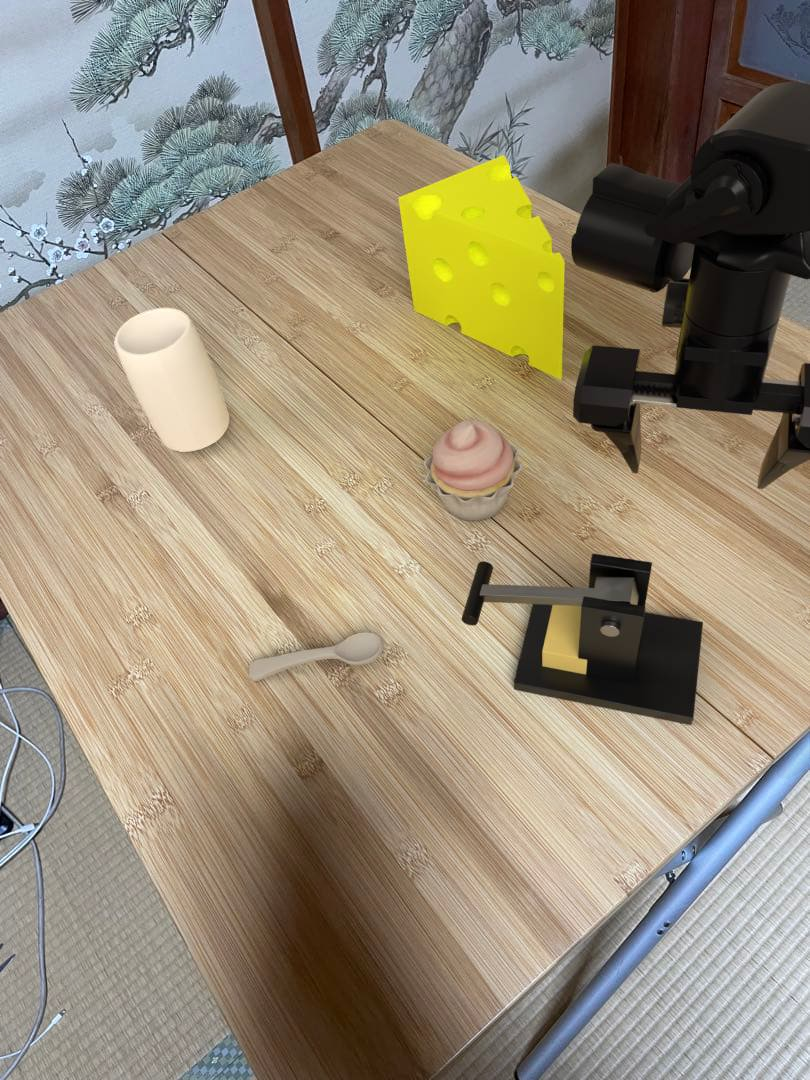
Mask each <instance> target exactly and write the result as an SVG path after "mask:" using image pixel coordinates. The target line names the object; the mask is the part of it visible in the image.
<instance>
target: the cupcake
mask: <svg viewBox="0 0 810 1080" xmlns="http://www.w3.org/2000/svg"><path fill="white" fill-rule="evenodd" d="M431 450H432V454H431V455H430V456H428V457H427V458H426V459H424V460H423V466H424V467H425V469H426V470H427V471H428V472H427V474H426V476H425V478H424V482H425V483H426V484H428V485H429V486H430V487H431V488H432V489H433V490H434V491H436V493H437V495H438V497H439V498H440V500H441V502H442V504H443V506H444V508H445V509H446V510H447V512H449V513H450V514H451V515H453V516H454V517H456V518H458V519H460V520H462V521H466V522H468V521H469V522H480V521H484V520H487V519H491V518H492V517H494V516H496V515H497V514H498V513H499V512H500V511H501V510H502V509H503V508H504V507H505V506H506V504H507V502H508V498H509V495H510V491H511V489H512V488H513V487H514V485H515V479H516V478H517V477H518V475H519V473H520V472H521V471H522V470H523V468H524V466H523V464H522V463H521V462H520V461H519V459H517V458H518V455H519V451H520V448H519V447H517V446H514V445H511V444H510V442H509V441H508V439H507V438H506V437H505V436H504V435H503V434H502V433H501V432H500V431H498V430H496V428H495V427H493V426H492V425H491V424H489V423H487V422H485V421H482V420H478V419H464V420H461V421H460V422H458V423H457V424H455V425H453V426H451V427H450V428H449V429H448V430H447V431H445V432H444V433H443V434H442V435H441V436H440V437H439V438H438V440H437V441H436V442H435V444H434V446H433V448H432V449H431Z"/></svg>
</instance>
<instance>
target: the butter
mask: <svg viewBox="0 0 810 1080" xmlns="http://www.w3.org/2000/svg"><path fill="white" fill-rule="evenodd" d="M580 620H581V606H566V605H553V606H552V611H551V615H550V619H549V624H548V628H547V633H546V637H545V641H544V646H543V650H542V666H544V667H549V668H554V669H560V670H565V671H570V672H575V673H581V674H586V668H587V660H584V659H579V658H578V651H579V636H580Z"/></svg>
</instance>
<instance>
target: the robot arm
mask: <svg viewBox="0 0 810 1080" xmlns="http://www.w3.org/2000/svg"><path fill="white" fill-rule="evenodd" d="M570 243H571V245H570V251H571V253H570V254H571V259H572V261H573V263H574V265H575V266H576V267H577V268H580V269H583V270H586V271H588V272H592V273H595V274H597V275H600V276H603V277H606V278H609V279H613V280H615V281H618V282H621V283H624V284H627V285H630V286H633V287H636V288H639V289H642V290H645V291H648V292H650V293H655V294H656V293H658V292H661V291H662V290H664V288H666V291H665V298H664V305H663V311H662V318H661V327H663V328H674V329H676V328H677V329H680V330H679V337H678V343H677V349H676V350H677V351H676V355H675V368H674V373H664V372H654V371H642V370H638V368H639V365H640V358H641V357H640V356H641V348H629V347H617V346H608V345H607V346H606V345H594V344H593V345H591V346H590V347H589V348H588V349H587V350H585V352H584V353H583V356H582V360H581V363H580V368H579V372H578V376H577V379H576V383H575V387H574V395H573V405H572V417H573V418H574V419H575V420H576V421H577V422H578V423H580V424H587V425H590V427H591V429H592V430H593V431H595V432H599V433H603V434H605V436H606V437H607V438H608V439H609V441H611V442H612V444H613V445H614V446H615V448H616V449H617V450H618V451H619V452H620V454H621V455H622V457H623V459H624V461H625V462H626V464H627V466H628V468H629V469H630V471H631V473H632V474H637V475H638V474H639V469H640V463H641V455H642V421H641V405H648V406H658V407H668V408H677V409H685V410H695V411H696V410H697V411H707V412H715V413H716V412H717V413H725V414H736V415H747V416H752V415H753V412H754V411H758V412H759V411H760V412H771V413H779V414H782V416H781V418H780V421H779V424H778V425H777V428H776V430H775V433H774V435H773V438H772V439H771V442H770V444H769V446H768V449H767V451H766V453H765V456H764V458H763V460H762V463H761V466H760V469H759V473H758V476H757V485H756V486H757V489H758V490H764V489H765V488H767V487H769V485H771V484H772V483H774V482H775V481H777V480H778V479H779V478H780V477H782V476H783V475H785V474H787V473H788V472H789V471H791V470H792V469H795V468H797V467H799V466H800V465H802V464H804V463H806V462H808V461H810V363H809V362H804V363H803V364H801V366H800V369H799V373H798V375H797V380H788V379H787V380H786V379H777V378H776V379H775V378H765V375H766V371H767V367H768V363H769V359H770V356H771V351H772V348H773V345H774V340H775V337H776V333H777V330H778V325H779V322H780V318H781V314H782V309H783V306H784V302H785V298H786V294H787V291H788V287H789V283H790V280H791V277H792V276H793V277H796V278H800V279H803V280H810V83H806V82H800V81H786V82H785V81H784V82H778V83H774V84H772V85H770V86H768V87H765V88H764V89H763V90H761V91H760V92H758V93H757V94H755V96H754V97H752V99H750V100H749V101H748V102H747V103H746V104H745V105H743V106H742V107H741V108H740V109H739V110H738V111H737V112H736V113H735V114H734V115H732V116H731V118H730V119H728V120H727V121H726V122H725V123H724V124H723V125H722V126H721V127H720V128H719V129H717V130H716V131H715V132H714V133H712V135H710V137H709V138H707V140H706V141H705V142H703V144H702V145H700V147H699V149H698V150H697V152H696V154H695V157H694V158H693V161H692V165H691V172H690V175H689V176H688V177H687V178H686V179H685V180H684V181H683V182H682V183H679V182H675V181H671V180H667V179H663V178H660V177H657V176H652V175H649V174H645V173H641V172H638V171H636V170H634V169H632V168H631V167H628V166H626V165H622V164H620V163H619V164H618V163H615V162H611V163H610V164H608V165H607V166H606V167H605V168H603V169H602V170H601V171H600V172H598V174H596V175H595V176H593V178H592V191H591V194H590V196H589V198H588V200H587V201H586V203H585V205H584V207H583V209H582V211H581V214H580V216H579V219H578V221H577V225H576V229H575V233H574V234H573V235H572V236H571V242H570ZM689 271H690V272H689ZM688 272H689V278H686V277H685V276H686V275H687V274H688Z"/></svg>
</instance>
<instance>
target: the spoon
mask: <svg viewBox="0 0 810 1080" xmlns="http://www.w3.org/2000/svg"><path fill="white" fill-rule="evenodd" d="M384 649H385V645H384V641H383V638H381V637H380V636H379V635H378V634H377V633H373V632H365V631H364V632H357V633H355V634H352V635H350V636H348V637H347V638H345V639H344V640H343V641H341V642H340V643H338V644H336V645H332V646H326V647H318V648H317V647H316V648H309V649H304V650H297V651H293V652H289V653H285V654H280V655H275V656H269V657H263V658H258V659H255V660H252V661H251V662H250V663H249V667H248V675H249V679H250V681H252V682H259V681H261V680H264V679H267V678H268V677H272V676H273V675H276V674H278V673H280V672H283V671H286V670H288V669H291V668H294V667H298V666H300V665H304V664H308V663H311V662H316V661H322V660H331V659H336V660H340V661H342V662H343V663H345V664H348V665H351V666H364V665H368V664H370V663H372V662H374V661H376V660H377V659H378V658H379V657H380V656H381V655H382V653H383V651H384Z"/></svg>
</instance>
